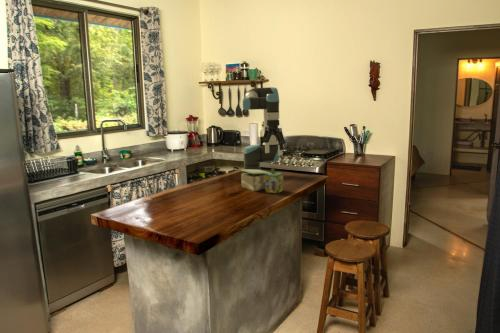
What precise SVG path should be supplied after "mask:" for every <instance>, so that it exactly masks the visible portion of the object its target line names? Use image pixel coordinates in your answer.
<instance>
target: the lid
mask: <svg viewBox="0 0 500 333" xmlns="http://www.w3.org/2000/svg"><path fill="white" fill-rule="evenodd" d="M240 170H241V172H243V171H245V172H248V173H252V174H267V173H270V172H271V171H270V172H269V171H265V170H263V169H261V170H255V169H244V168H243V169H242V168H241V169H240Z"/></svg>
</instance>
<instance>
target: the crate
mask: <svg viewBox="0 0 500 333" xmlns="http://www.w3.org/2000/svg"><path fill="white" fill-rule="evenodd" d="M240 180H241V182H240V183H241V188H243V189H244V190H245V189H246V190H248V191H251V192H257V191H262V190H265V174H252V173H244V174H242V173H241V174H240Z"/></svg>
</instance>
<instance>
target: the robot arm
mask: <svg viewBox="0 0 500 333" xmlns="http://www.w3.org/2000/svg"><path fill="white" fill-rule="evenodd" d="M278 91H279V90H278V88H277V87H271V86H270V87H255V88H251V89H249V90H247V91H246V92H245V93H244V97H242V110H247V111H250V110H251V111H252V110H253V111H254V110H263V137H262V142H263V143H262V145H261V146H260V144H252V145H251V144H249V145H247V146H245V147H244V149H243V160H244V161H243V165H244V167H243V169H255V170H262V167H261V163H277V162H279V160H280V156H283V154H284V153H283V150H284V144H286V140H285V137H284V134H283V128H282V127H279V126H280V120H279V119H280V96H279V92H278ZM244 173H248V172H245V171H242V173H241V174H244Z"/></svg>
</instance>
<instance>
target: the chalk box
mask: <svg viewBox="0 0 500 333" xmlns="http://www.w3.org/2000/svg"><path fill="white" fill-rule="evenodd" d="M275 170H276V169H275V167H273V168H271V169H270V173H267V174H265V189H264V190H265V193H268V194H280V193H282V192H284V173H283V172H278V171H277V172H276V171H275Z"/></svg>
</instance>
